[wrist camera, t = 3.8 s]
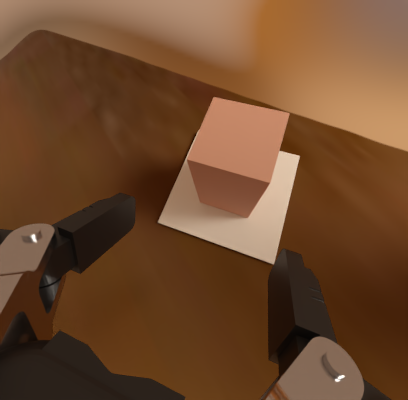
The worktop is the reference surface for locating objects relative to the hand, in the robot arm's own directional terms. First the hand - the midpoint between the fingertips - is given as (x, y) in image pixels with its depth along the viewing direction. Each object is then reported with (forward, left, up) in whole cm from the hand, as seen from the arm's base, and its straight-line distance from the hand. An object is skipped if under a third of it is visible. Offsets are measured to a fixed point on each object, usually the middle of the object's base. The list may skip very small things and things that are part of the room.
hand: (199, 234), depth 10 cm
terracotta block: (+1, -8, -12) cm, 14 cm away
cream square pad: (+1, -8, -12) cm, 15 cm away
